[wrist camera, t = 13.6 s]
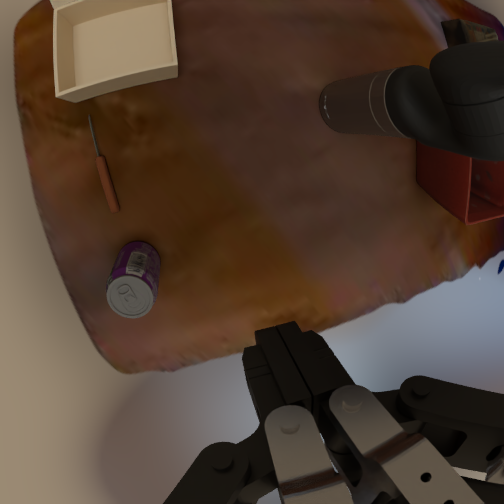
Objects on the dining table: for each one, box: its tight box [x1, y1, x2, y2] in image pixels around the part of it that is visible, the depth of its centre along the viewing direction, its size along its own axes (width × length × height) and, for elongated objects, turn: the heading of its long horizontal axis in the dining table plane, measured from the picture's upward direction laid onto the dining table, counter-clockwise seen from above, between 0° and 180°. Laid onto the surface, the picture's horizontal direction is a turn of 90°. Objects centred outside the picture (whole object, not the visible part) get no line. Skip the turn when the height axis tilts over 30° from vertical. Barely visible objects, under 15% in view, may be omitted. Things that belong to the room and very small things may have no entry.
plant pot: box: [417, 141, 504, 225], centre depth 44 cm, size 19×19×17 cm
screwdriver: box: [89, 114, 120, 213], centre depth 39 cm, size 16×1×2 cm, turn 12°
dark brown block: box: [441, 19, 498, 48], centre depth 40 cm, size 8×19×7 cm, turn 107°
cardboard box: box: [53, 0, 178, 103], centre depth 30 cm, size 16×14×8 cm
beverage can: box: [106, 242, 160, 318], centre depth 41 cm, size 7×7×12 cm
